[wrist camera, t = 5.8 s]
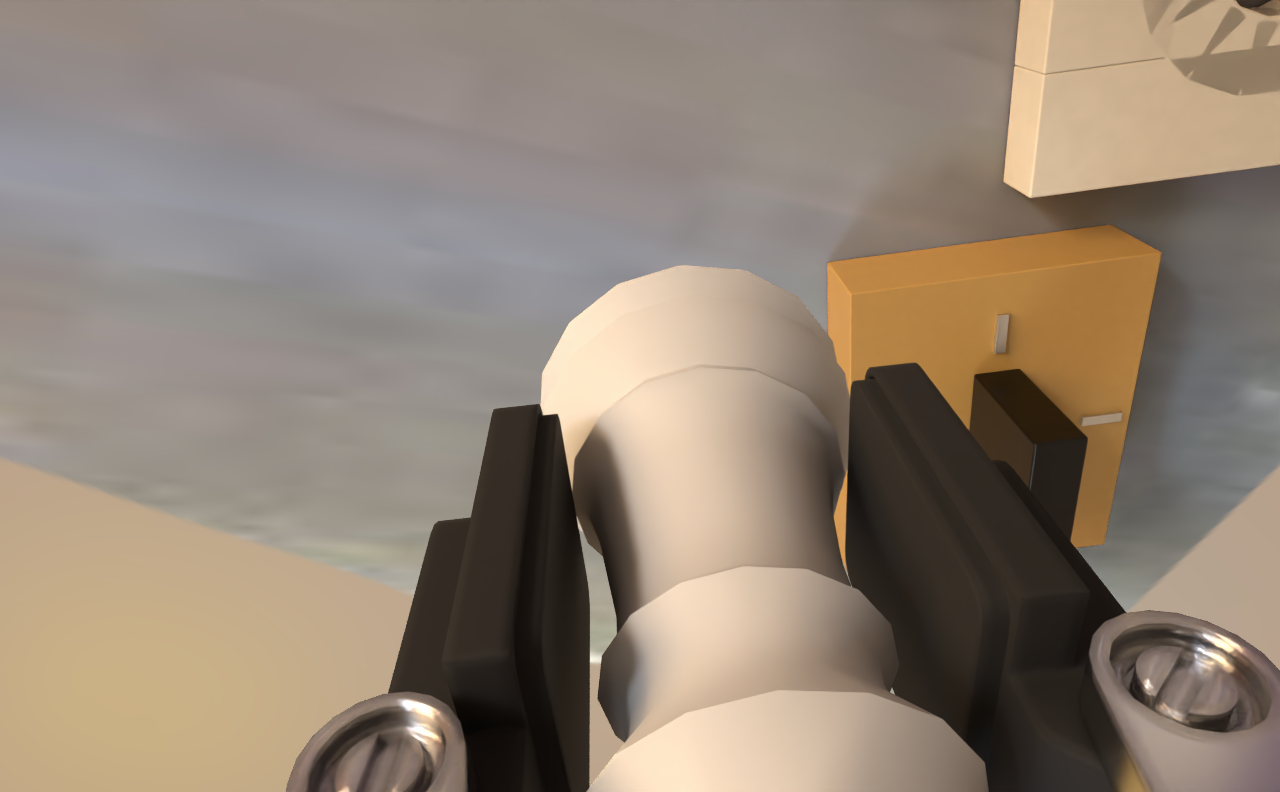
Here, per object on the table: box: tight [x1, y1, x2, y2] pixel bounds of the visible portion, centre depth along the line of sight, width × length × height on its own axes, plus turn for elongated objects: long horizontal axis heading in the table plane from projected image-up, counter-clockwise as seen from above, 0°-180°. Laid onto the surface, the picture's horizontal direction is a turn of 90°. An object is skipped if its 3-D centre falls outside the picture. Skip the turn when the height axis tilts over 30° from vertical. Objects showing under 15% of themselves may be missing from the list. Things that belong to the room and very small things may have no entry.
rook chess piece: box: [541, 265, 989, 792], centre depth 9 cm, size 4×4×8 cm
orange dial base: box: [827, 225, 1162, 572], centre depth 30 cm, size 12×10×3 cm
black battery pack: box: [969, 369, 1088, 542], centre depth 27 cm, size 5×2×5 cm, turn 7°
